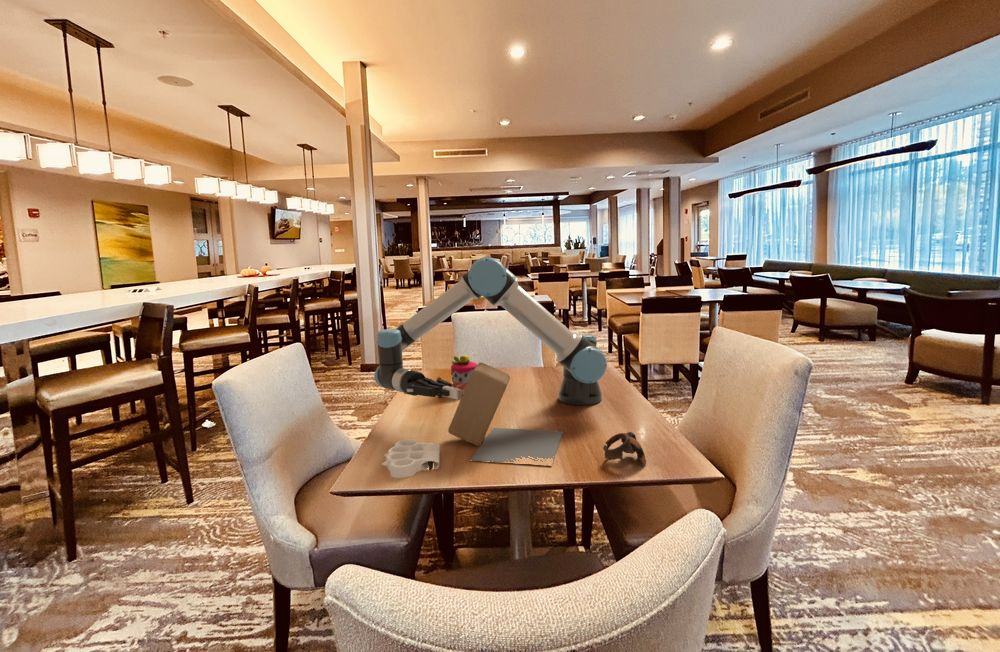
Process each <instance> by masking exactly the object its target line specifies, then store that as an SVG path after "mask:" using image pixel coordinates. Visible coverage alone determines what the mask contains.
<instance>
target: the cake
mask: <svg viewBox="0 0 1000 652" xmlns="http://www.w3.org/2000/svg"><path fill="white" fill-rule="evenodd" d="M453 360H454V361H451V365H450V370H451V371H450V374H451V379H452V380H451V382H452V383H451V384H452V387H454V388H458V389H461V393H462V395H463V393H464V391H465V388H466V386H467V384H468V381H469V379H470V377H471V374H472V372H473V370H474V369H475V368H476V366H477V365H478V364H479V363H477V362H475V361H470V357H469V355H466V354H464V355H461V356H460V357H459V356H457V355H454V356H453Z"/></svg>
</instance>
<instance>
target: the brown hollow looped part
mask: <svg viewBox="0 0 1000 652" xmlns="http://www.w3.org/2000/svg"><path fill="white" fill-rule="evenodd" d="M618 441H621V442H622V443H621V444H620V445H619V446H617V447H615V448H611V449H610V447H611V446H612V445H613V444H615V443H616V442H618ZM605 444H606V445H604V446H602V447H603V449H602V450H603V451H604V458H605V459H606V460H607V459H608V461H611V460H612V461H613V460H618V459H619V460H621V461H624V459H623V455H624V453H625V454H635V453H636V455H637V459H639V461H640V462H641V465H642V467H643V468H644V467H646V464H647V459H646V455H645V452H644V450H643V447H642V445H641V444H640V442H639V441H638V440H637V437H636V434H635V433H634V432H632V431H628V432H619V433H617V434H615V435H612V436H610V438H608V439H607V440H606V441H605Z"/></svg>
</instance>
